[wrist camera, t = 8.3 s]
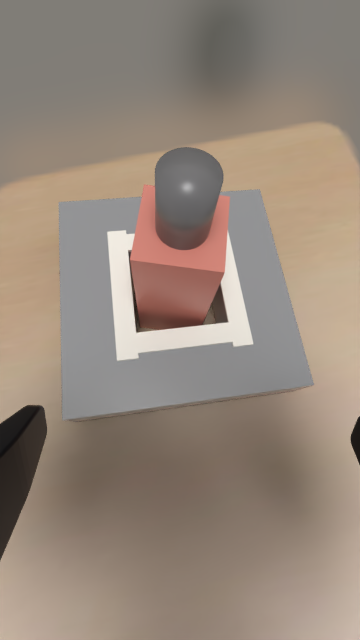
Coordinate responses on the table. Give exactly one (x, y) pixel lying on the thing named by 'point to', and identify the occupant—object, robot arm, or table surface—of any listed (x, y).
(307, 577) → the table surface
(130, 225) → the socket plate
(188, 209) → the plug
